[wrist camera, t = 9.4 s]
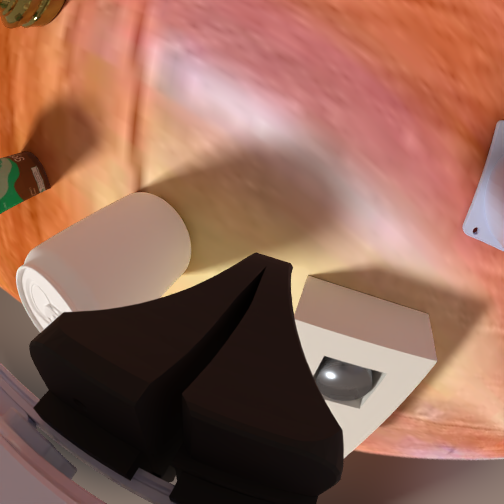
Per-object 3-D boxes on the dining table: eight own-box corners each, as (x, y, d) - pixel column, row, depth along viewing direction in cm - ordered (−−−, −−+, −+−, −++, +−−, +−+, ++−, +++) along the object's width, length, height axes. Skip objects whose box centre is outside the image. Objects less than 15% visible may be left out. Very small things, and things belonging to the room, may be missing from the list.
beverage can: (132, 171, 23) (8, 231, 13) (211, 227, 23) (105, 328, 13) (110, 241, 27) (17, 311, 17) (175, 292, 27) (93, 385, 17)
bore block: (428, 314, 20) (437, 361, 16) (343, 427, 29) (336, 463, 25) (307, 275, 22) (293, 318, 18) (261, 402, 31) (246, 438, 27)
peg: (382, 331, 21) (381, 375, 18) (362, 363, 24) (357, 405, 20) (334, 316, 22) (326, 359, 18) (319, 350, 24) (308, 392, 21)
